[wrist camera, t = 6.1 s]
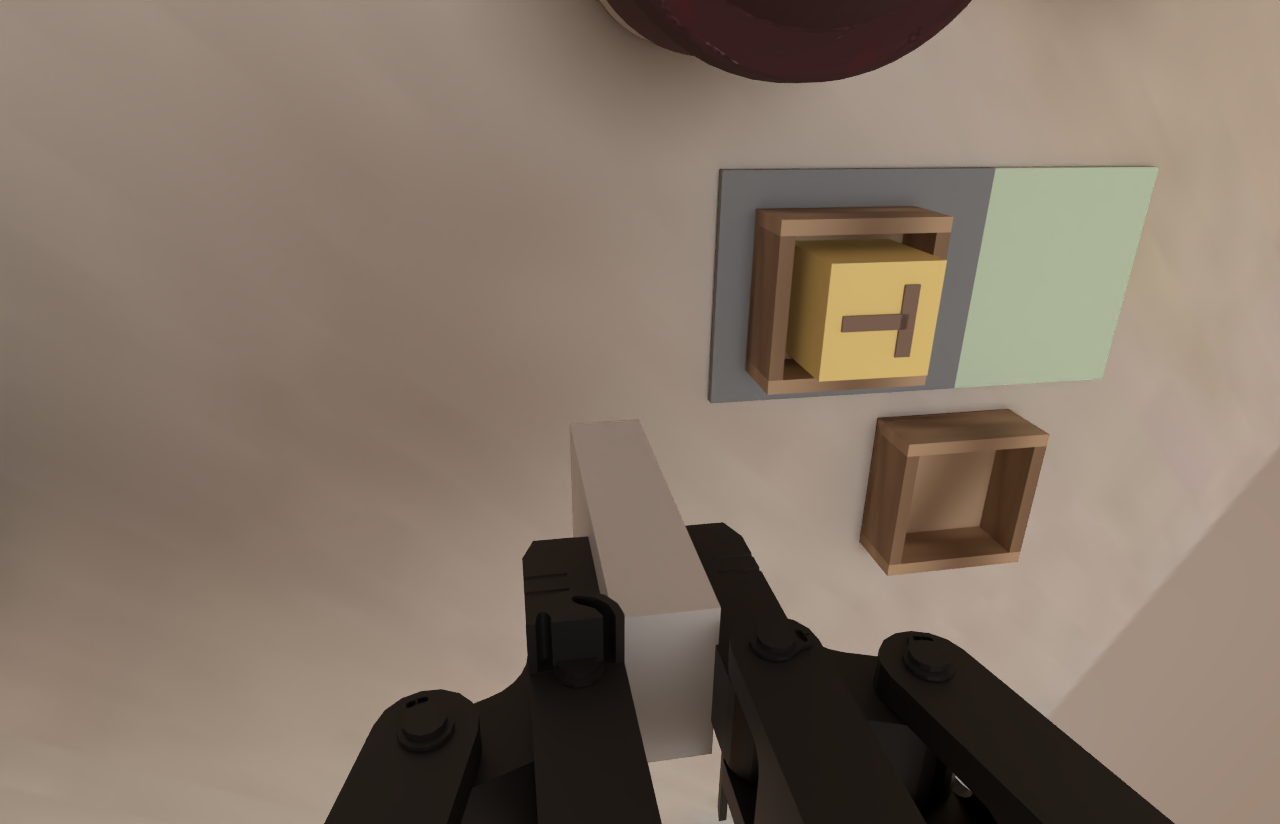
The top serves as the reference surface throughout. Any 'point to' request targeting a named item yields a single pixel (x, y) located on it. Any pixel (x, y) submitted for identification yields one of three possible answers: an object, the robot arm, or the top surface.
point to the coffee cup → (788, 33)
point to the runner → (963, 265)
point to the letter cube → (863, 308)
